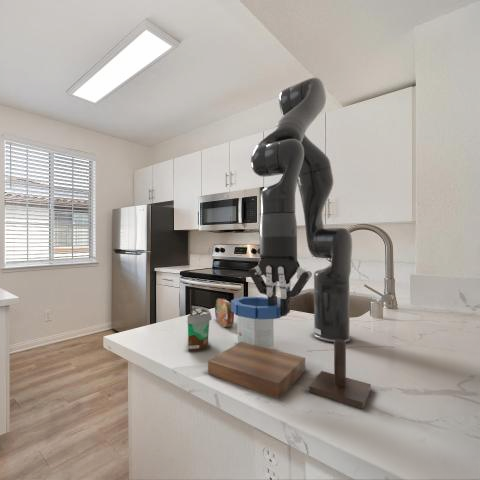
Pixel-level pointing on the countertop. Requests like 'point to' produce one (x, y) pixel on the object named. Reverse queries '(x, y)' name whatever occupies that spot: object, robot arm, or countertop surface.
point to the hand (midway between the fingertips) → (278, 314)
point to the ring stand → (340, 381)
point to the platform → (258, 368)
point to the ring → (255, 308)
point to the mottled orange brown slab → (224, 313)
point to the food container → (198, 328)
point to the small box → (256, 331)
